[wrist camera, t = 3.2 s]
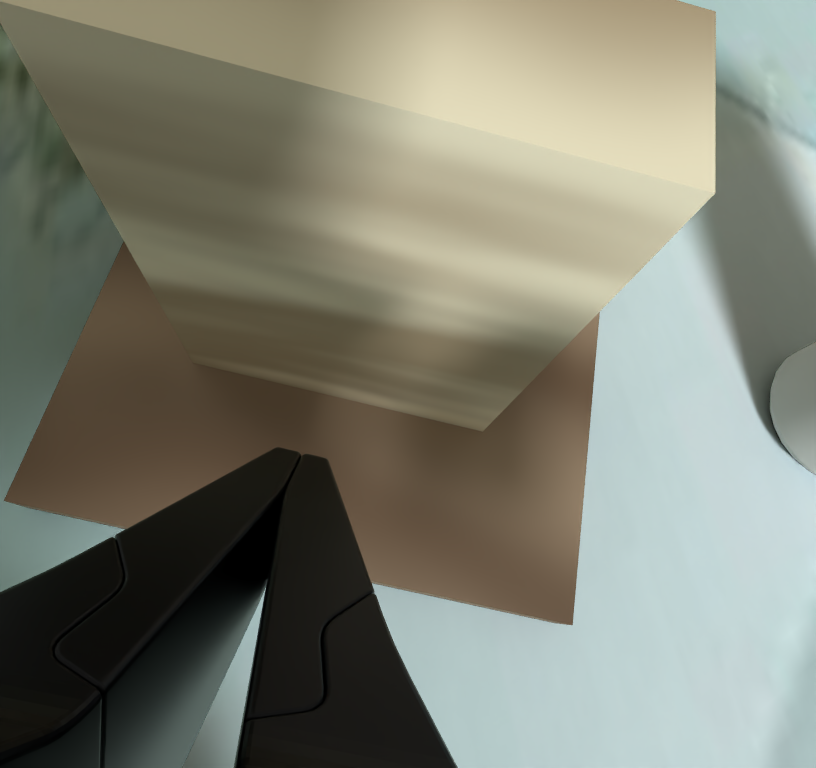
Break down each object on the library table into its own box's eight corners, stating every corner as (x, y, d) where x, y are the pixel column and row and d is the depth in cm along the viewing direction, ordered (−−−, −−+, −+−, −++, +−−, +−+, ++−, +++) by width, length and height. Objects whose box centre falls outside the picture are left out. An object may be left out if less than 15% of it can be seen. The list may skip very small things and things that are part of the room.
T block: (482, 431, 16) (714, 193, 6) (192, 362, 15) (-14, -4, 6) (526, 153, 19) (716, -258, 10) (294, 91, 19) (265, -400, 10)
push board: (554, 623, 15) (572, 625, 14) (28, 507, 15) (4, 500, 13) (614, 2, 24) (628, -26, 23) (293, -90, 24) (292, -124, 22)
